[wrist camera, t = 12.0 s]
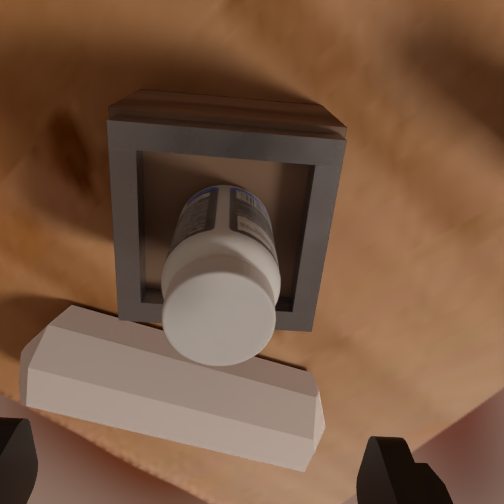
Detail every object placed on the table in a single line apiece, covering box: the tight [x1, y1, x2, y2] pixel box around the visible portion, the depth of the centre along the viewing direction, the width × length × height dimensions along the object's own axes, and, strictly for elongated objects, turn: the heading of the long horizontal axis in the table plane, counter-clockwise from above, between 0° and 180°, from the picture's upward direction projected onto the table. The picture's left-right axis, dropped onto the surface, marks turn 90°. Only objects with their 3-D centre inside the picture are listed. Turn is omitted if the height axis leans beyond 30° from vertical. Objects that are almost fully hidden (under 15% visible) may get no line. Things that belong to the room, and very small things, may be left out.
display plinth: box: [107, 89, 347, 332], centre depth 25 cm, size 11×11×8 cm
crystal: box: [19, 305, 325, 472], centre depth 33 cm, size 7×7×24 cm
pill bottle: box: [161, 185, 281, 366], centre depth 19 cm, size 5×5×8 cm
